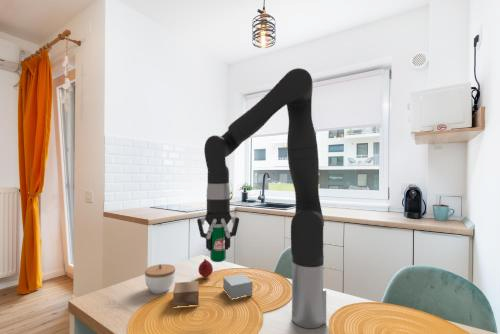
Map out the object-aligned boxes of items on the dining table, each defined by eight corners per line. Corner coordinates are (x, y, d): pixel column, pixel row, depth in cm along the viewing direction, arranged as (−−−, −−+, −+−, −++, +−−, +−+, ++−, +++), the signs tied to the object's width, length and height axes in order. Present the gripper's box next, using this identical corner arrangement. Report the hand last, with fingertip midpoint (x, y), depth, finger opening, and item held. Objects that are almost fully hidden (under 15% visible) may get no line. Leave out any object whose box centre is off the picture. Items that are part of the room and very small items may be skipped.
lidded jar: (149, 299, 91) (149, 272, 91) (141, 288, 99) (141, 263, 99) (179, 291, 97) (179, 265, 97) (169, 281, 106) (169, 258, 106)
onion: (214, 275, 112) (214, 256, 112) (210, 281, 106) (210, 261, 106) (200, 275, 112) (200, 256, 113) (196, 280, 107) (196, 260, 107)
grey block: (242, 286, 101) (242, 273, 101) (252, 295, 94) (252, 281, 94) (223, 290, 98) (223, 277, 98) (231, 300, 90) (231, 285, 91)
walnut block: (198, 295, 94) (198, 281, 94) (198, 306, 86) (198, 291, 86) (175, 297, 92) (175, 282, 93) (173, 308, 85) (173, 293, 85)
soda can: (214, 263, 82) (214, 225, 82) (207, 259, 86) (207, 222, 87) (228, 260, 85) (228, 223, 85) (221, 256, 89) (221, 221, 89)
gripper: (195, 198, 81) (195, 254, 81) (241, 197, 84) (241, 251, 84) (195, 196, 88) (195, 247, 88) (238, 196, 91) (238, 245, 91)
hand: (218, 249), depth 86 cm, fingers closed on soda can, 5 cm apart
